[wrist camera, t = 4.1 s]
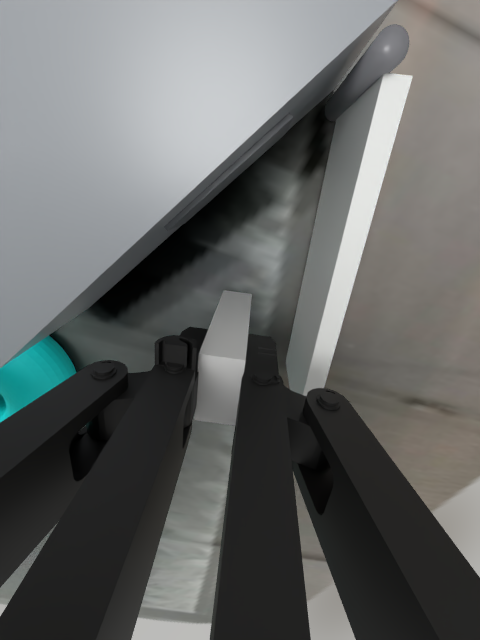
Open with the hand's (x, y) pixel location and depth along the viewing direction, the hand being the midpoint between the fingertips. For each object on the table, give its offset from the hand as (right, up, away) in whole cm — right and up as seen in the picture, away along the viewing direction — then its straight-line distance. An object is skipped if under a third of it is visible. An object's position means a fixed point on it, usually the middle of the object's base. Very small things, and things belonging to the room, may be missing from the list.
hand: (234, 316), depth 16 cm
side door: (+4, +4, +1) cm, 6 cm away
